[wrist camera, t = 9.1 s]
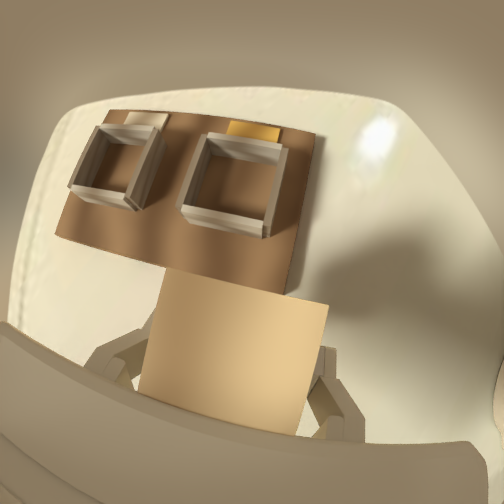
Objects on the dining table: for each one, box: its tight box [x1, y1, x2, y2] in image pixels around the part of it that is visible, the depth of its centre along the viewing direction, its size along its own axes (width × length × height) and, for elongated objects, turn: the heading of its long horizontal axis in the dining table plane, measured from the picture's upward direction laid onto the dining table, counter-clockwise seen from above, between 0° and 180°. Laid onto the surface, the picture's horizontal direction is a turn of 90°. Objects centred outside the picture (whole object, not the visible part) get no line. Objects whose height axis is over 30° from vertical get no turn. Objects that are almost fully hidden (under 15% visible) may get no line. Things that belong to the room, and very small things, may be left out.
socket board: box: [55, 110, 316, 295], centre depth 26 cm, size 24×16×4 cm, turn 76°
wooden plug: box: [137, 267, 329, 437], centre depth 13 cm, size 5×5×10 cm
